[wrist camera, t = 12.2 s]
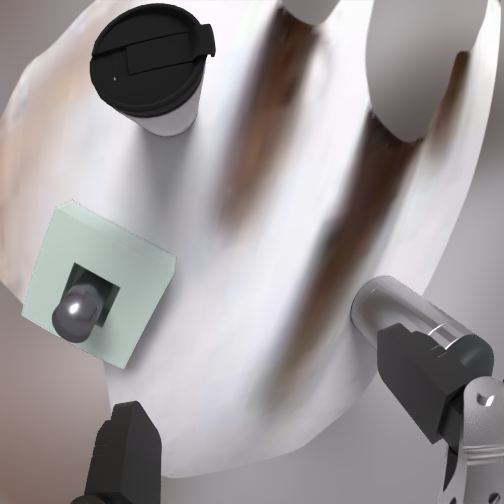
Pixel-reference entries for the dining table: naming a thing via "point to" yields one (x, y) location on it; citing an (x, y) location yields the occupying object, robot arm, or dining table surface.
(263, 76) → the dining table surface
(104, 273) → the socket block
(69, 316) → the pin
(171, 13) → the travel mug
